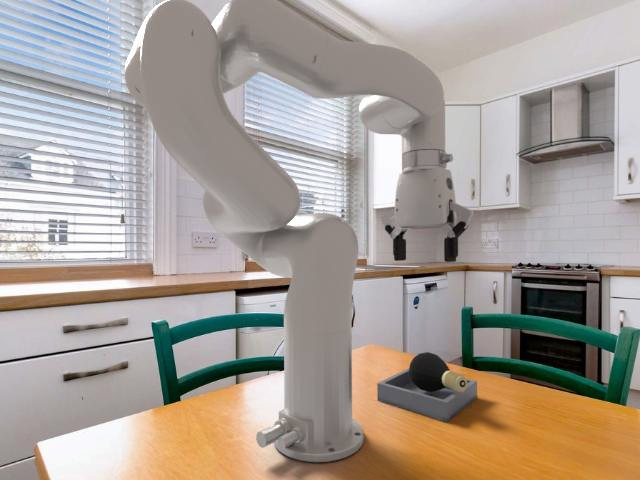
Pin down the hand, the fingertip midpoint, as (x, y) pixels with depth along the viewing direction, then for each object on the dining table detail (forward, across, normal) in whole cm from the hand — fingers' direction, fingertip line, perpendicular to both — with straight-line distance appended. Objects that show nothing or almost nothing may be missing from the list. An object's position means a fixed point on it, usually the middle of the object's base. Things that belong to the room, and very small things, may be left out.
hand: (424, 261), depth 68 cm
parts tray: (+24, 0, 0) cm, 24 cm away
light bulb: (+22, -3, +1) cm, 23 cm away
